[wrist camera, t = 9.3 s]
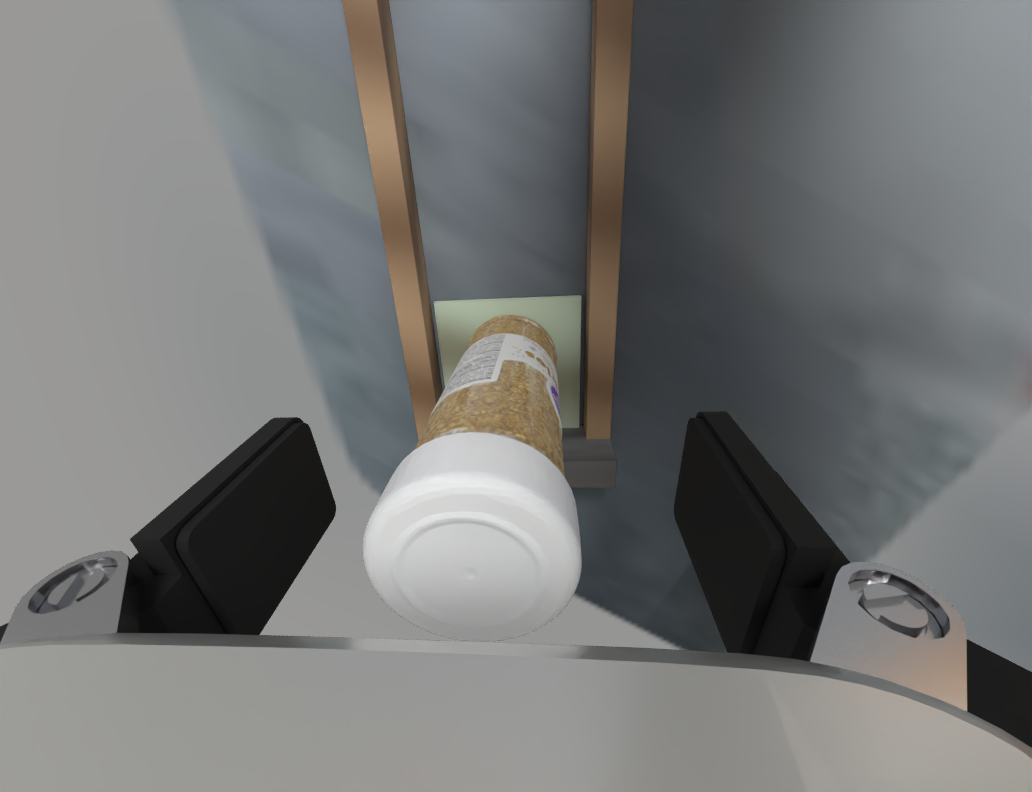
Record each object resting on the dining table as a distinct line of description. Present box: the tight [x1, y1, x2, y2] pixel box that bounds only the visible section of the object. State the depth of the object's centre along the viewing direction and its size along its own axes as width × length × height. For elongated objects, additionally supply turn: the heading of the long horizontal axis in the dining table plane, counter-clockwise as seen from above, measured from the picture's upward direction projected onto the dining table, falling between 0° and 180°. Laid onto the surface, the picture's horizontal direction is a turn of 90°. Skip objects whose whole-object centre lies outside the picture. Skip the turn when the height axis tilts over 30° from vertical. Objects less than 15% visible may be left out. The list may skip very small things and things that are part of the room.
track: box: [342, 0, 634, 488], centre depth 16 cm, size 24×10×4 cm, turn 3°
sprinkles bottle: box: [363, 315, 582, 642], centre depth 14 cm, size 5×5×13 cm
